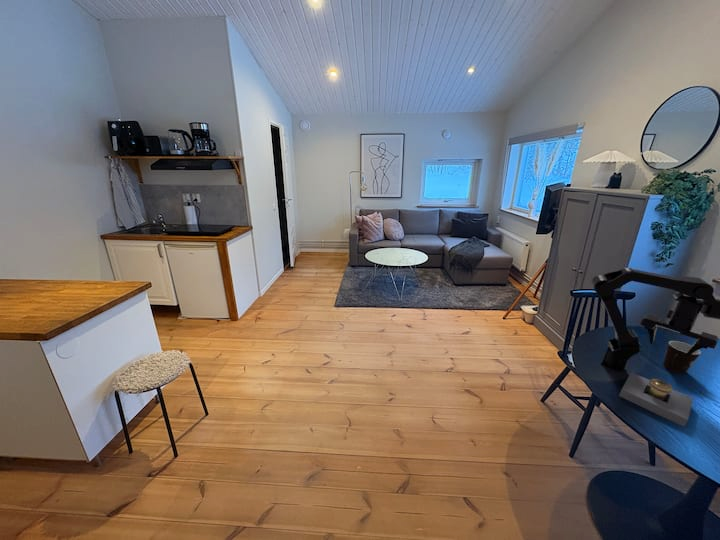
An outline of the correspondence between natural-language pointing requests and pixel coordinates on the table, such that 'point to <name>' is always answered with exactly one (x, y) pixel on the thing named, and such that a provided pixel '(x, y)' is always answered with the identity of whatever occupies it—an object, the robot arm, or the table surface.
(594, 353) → the table surface
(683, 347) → the coffee mug
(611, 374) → the table surface
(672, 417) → the flange socket
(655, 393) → the brass fitting
